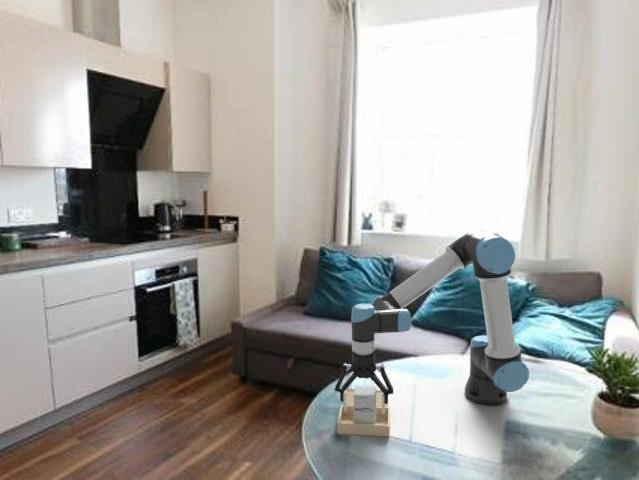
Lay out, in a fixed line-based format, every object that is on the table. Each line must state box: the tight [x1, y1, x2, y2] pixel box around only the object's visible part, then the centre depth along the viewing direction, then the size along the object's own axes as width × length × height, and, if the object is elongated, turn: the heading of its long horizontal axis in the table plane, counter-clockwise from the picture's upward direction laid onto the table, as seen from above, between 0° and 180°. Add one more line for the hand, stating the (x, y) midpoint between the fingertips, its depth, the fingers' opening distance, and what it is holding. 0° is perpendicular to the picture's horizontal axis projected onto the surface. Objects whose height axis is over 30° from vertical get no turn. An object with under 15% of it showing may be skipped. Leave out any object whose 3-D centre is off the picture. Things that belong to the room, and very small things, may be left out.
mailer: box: [336, 404, 391, 438], centre depth 162 cm, size 17×12×4 cm
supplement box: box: [354, 384, 377, 425], centre depth 161 cm, size 7×7×13 cm
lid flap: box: [346, 388, 389, 407], centre depth 172 cm, size 16×8×1 cm, turn 81°
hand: (364, 411), depth 162 cm, fingers open, 12 cm apart
